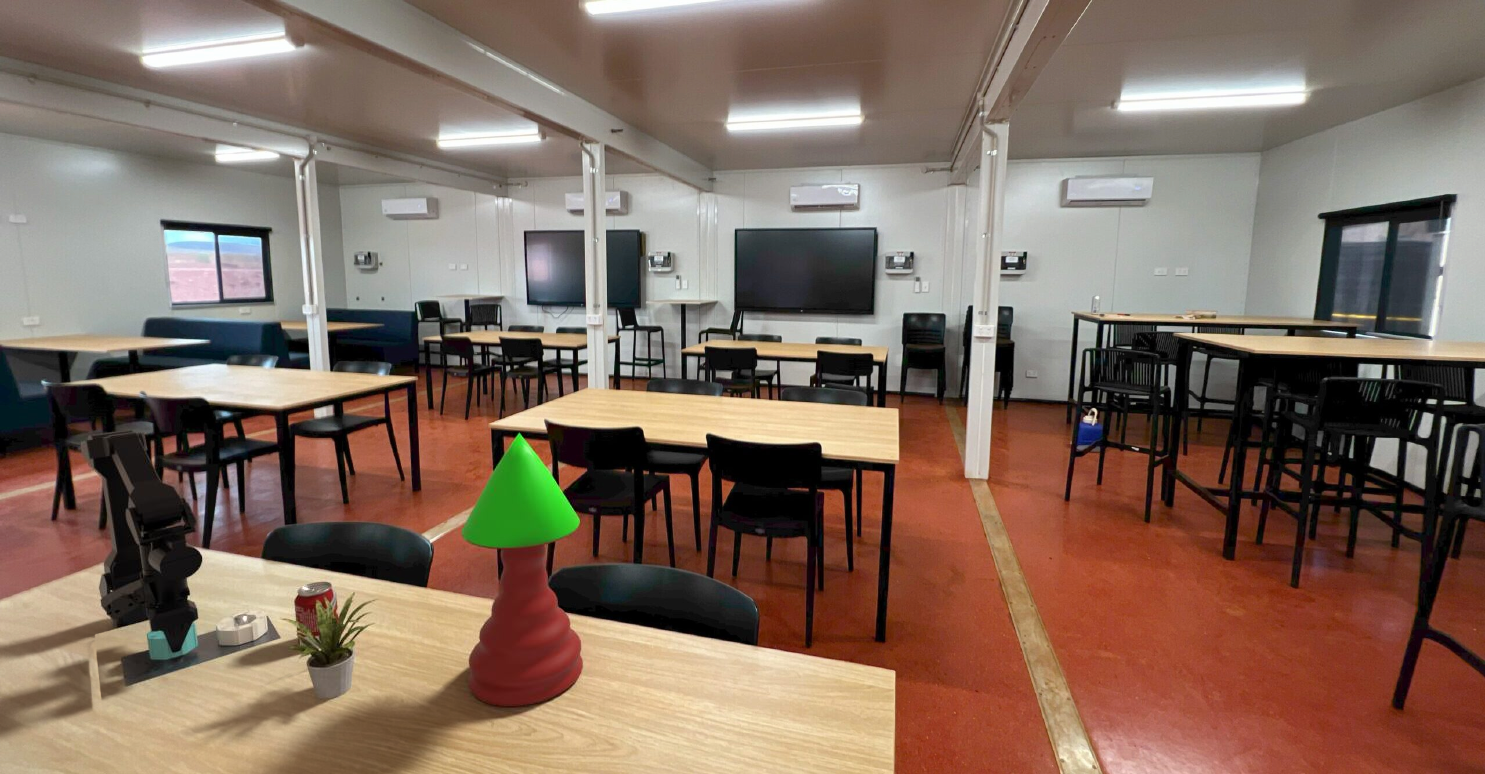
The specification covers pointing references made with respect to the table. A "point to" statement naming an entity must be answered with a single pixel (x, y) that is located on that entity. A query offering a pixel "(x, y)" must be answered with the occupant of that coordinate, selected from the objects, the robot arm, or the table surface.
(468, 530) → the table lamp
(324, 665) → the house plant
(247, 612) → the cream gear
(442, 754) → the table surface
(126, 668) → the gear board
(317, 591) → the soda can
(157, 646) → the teal blocky piece
